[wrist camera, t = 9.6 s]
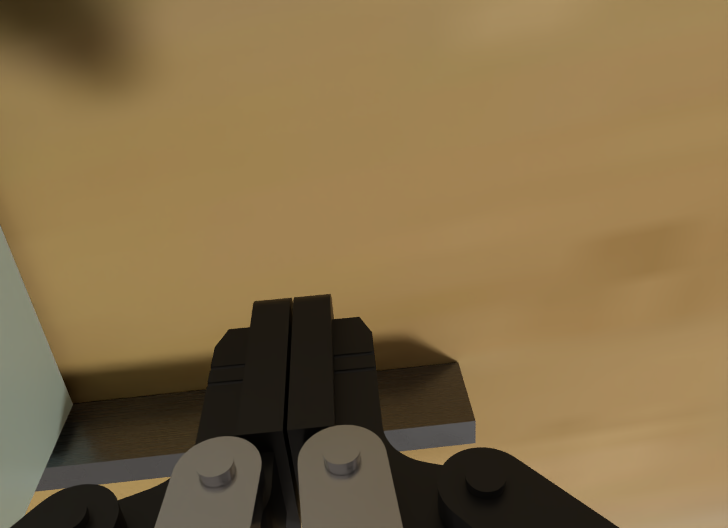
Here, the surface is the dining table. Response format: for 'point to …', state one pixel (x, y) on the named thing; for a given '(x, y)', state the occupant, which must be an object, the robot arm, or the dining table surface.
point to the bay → (183, 412)
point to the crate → (24, 394)
